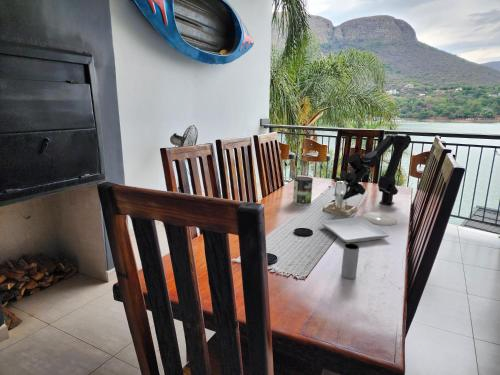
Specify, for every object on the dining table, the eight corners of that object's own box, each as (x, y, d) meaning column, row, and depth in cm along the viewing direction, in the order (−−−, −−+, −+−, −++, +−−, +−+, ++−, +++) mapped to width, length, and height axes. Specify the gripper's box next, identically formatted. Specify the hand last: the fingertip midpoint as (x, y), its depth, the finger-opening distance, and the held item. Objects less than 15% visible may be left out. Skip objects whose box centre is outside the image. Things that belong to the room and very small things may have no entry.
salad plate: (344, 247, 122) (345, 239, 121) (318, 227, 142) (319, 220, 141) (390, 242, 127) (391, 234, 126) (359, 223, 147) (360, 216, 146)
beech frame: (333, 205, 173) (333, 201, 173) (356, 210, 165) (357, 206, 165) (322, 210, 163) (323, 207, 163) (347, 216, 155) (347, 212, 155)
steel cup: (347, 213, 160) (350, 184, 156) (333, 212, 162) (335, 183, 158) (346, 208, 167) (348, 181, 163) (332, 207, 168) (334, 180, 164)
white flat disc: (368, 211, 163) (368, 210, 163) (400, 218, 153) (401, 217, 153) (356, 219, 151) (356, 218, 151) (391, 227, 141) (391, 226, 141)
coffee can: (315, 203, 176) (316, 178, 173) (303, 206, 170) (304, 181, 166) (300, 198, 184) (302, 175, 180) (288, 202, 177) (290, 177, 174)
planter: (339, 272, 103) (341, 243, 100) (352, 271, 103) (355, 242, 100) (344, 279, 98) (347, 249, 96) (358, 279, 99) (361, 249, 96)
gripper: (338, 162, 168) (319, 183, 166) (363, 168, 152) (343, 192, 150) (348, 175, 173) (330, 196, 172) (373, 182, 157) (354, 206, 155)
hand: (338, 197), depth 162 cm, fingers closed on steel cup, 7 cm apart
